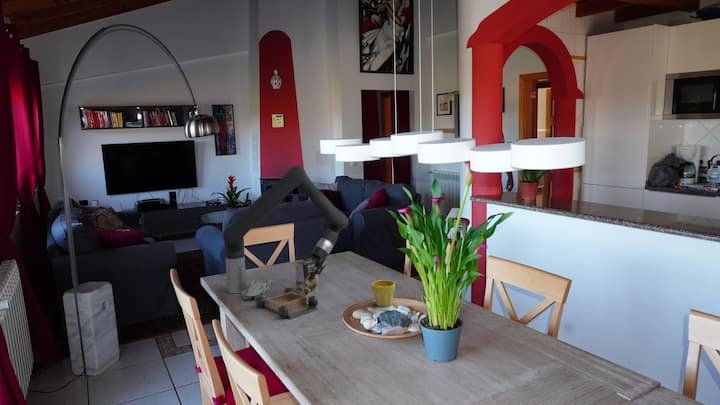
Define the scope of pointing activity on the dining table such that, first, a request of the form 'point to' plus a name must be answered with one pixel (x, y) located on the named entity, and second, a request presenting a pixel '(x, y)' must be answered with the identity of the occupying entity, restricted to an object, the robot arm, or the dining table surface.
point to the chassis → (289, 304)
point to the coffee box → (306, 278)
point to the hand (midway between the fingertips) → (304, 278)
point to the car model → (256, 290)
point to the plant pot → (383, 292)
